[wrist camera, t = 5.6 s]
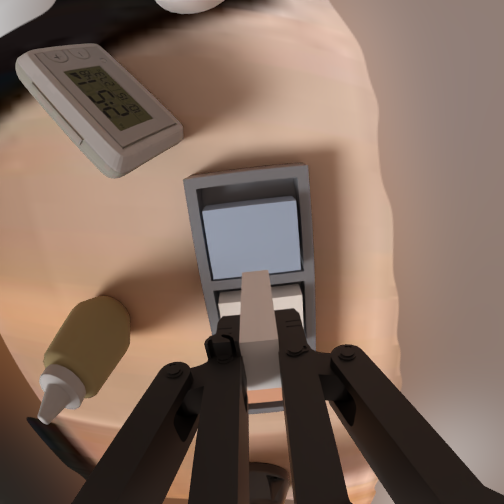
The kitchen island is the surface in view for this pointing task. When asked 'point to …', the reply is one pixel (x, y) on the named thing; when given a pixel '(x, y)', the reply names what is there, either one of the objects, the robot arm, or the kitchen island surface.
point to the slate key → (252, 236)
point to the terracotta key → (264, 395)
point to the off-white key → (280, 294)
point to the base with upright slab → (188, 5)
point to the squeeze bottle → (83, 354)
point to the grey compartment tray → (250, 188)
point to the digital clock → (99, 106)
